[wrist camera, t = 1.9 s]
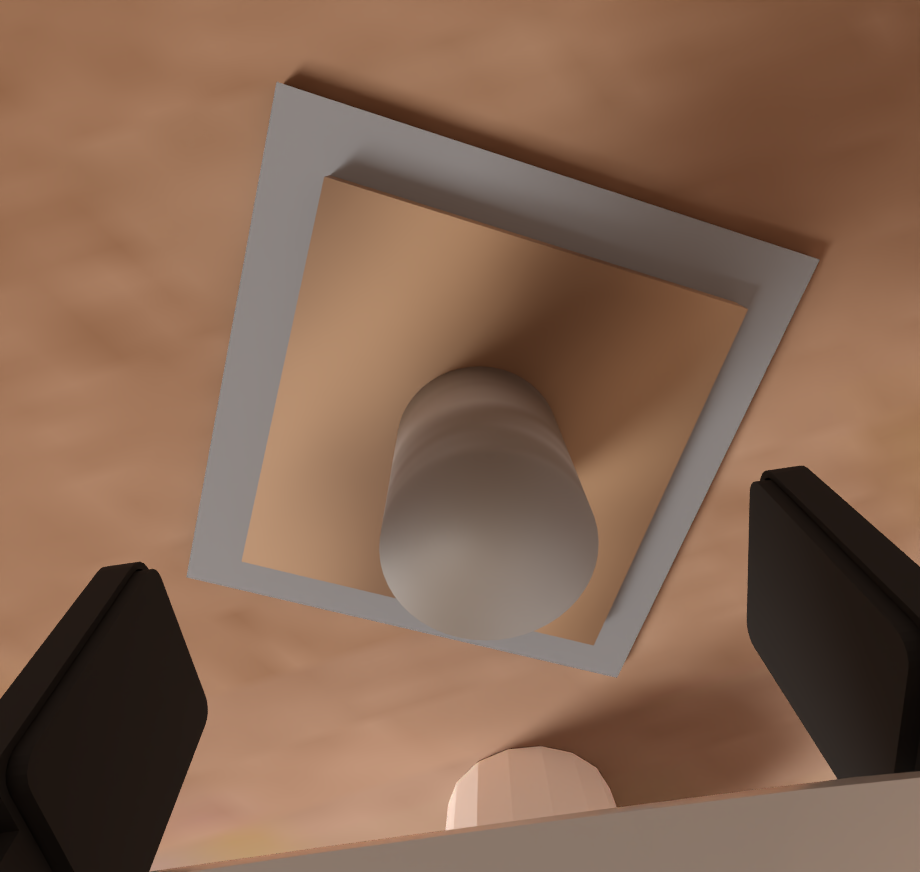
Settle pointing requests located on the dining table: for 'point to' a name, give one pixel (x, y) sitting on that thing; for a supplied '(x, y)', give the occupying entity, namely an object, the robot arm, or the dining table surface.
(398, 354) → the lid
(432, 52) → the dining table surface
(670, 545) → the mat
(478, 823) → the pale pink cup
